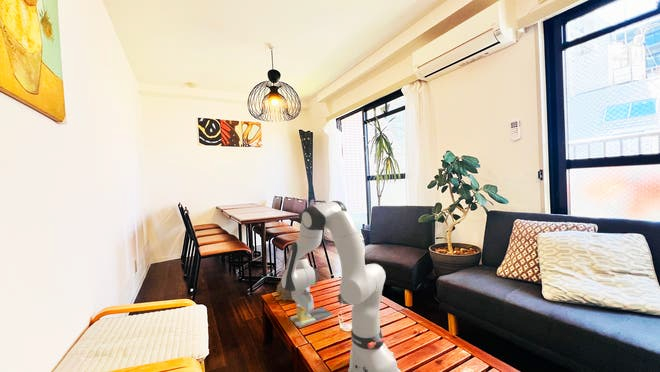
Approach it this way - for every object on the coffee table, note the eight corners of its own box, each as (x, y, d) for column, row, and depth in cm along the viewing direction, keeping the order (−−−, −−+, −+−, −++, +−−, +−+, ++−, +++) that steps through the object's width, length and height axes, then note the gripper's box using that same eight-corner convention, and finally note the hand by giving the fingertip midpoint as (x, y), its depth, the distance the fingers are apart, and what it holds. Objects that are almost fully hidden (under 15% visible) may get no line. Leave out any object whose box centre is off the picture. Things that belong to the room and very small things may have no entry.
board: (333, 315, 150) (333, 314, 150) (299, 328, 139) (299, 326, 139) (322, 307, 160) (322, 306, 160) (289, 318, 149) (289, 317, 149)
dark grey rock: (332, 297, 175) (344, 306, 162) (331, 291, 175) (344, 300, 162) (356, 290, 184) (369, 298, 171) (356, 285, 184) (369, 292, 171)
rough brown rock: (291, 310, 161) (292, 285, 160) (272, 301, 171) (273, 277, 170) (316, 297, 179) (317, 275, 179) (298, 289, 189) (299, 268, 189)
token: (309, 319, 146) (308, 308, 146) (301, 321, 143) (300, 310, 143) (305, 315, 150) (304, 304, 150) (297, 318, 147) (296, 307, 147)
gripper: (316, 292, 139) (317, 318, 139) (298, 280, 157) (299, 304, 157) (305, 295, 136) (306, 322, 136) (288, 283, 153) (289, 307, 153)
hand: (302, 312), depth 147 cm, fingers open, 8 cm apart
